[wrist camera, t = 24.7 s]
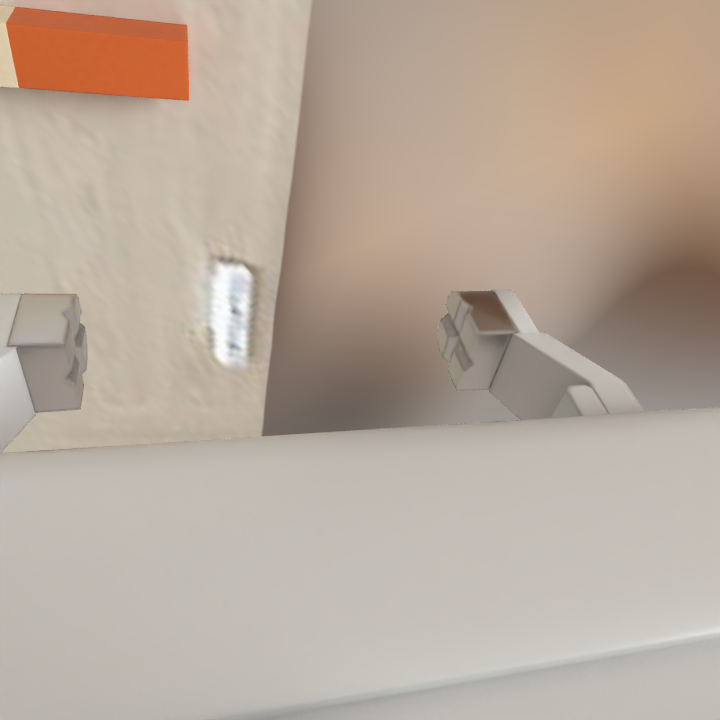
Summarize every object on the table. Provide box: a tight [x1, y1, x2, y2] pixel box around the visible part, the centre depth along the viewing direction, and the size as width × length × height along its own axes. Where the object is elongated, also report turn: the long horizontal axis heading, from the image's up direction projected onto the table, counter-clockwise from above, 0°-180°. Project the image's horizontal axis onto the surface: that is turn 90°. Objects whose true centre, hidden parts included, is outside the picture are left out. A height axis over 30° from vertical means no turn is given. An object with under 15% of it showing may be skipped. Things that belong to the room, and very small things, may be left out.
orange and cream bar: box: [0, 5, 189, 101], centre depth 42 cm, size 21×4×4 cm, turn 80°
